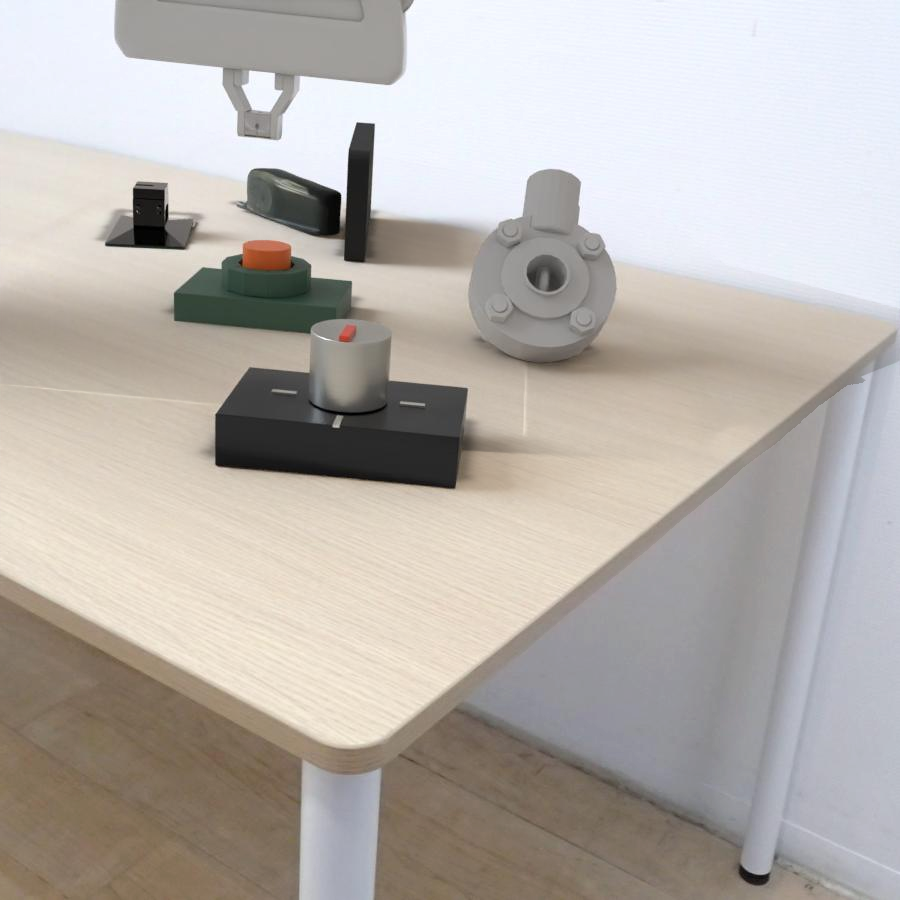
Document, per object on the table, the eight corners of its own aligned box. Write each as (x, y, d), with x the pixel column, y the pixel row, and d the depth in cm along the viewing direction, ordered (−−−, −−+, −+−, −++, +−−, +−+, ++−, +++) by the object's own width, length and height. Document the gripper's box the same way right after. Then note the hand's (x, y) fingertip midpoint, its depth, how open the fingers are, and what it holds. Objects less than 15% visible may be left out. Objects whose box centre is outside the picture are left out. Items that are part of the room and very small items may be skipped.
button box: (173, 321, 86) (173, 268, 85) (202, 293, 94) (202, 244, 92) (335, 336, 86) (337, 283, 85) (351, 307, 93) (353, 258, 92)
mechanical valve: (464, 328, 80) (492, 140, 85) (445, 415, 97) (469, 254, 102) (612, 352, 80) (631, 163, 85) (567, 434, 97) (585, 273, 102)
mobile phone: (347, 188, 115) (255, 159, 124) (324, 190, 113) (231, 161, 122) (344, 238, 117) (253, 206, 126) (321, 241, 115) (230, 208, 124)
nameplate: (364, 264, 107) (369, 152, 103) (343, 262, 107) (348, 151, 103) (370, 217, 126) (375, 122, 123) (352, 216, 126) (356, 120, 122)
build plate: (121, 219, 117) (120, 172, 115) (196, 223, 118) (196, 176, 116) (104, 246, 106) (102, 194, 104) (187, 250, 107) (187, 199, 105)
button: (237, 271, 87) (237, 248, 86) (248, 260, 90) (248, 238, 90) (285, 276, 87) (286, 252, 86) (294, 264, 90) (295, 242, 90)
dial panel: (213, 468, 63) (213, 413, 62) (249, 412, 71) (250, 362, 70) (455, 491, 62) (459, 436, 61) (464, 432, 70) (468, 383, 69)
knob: (317, 382, 68) (320, 310, 66) (393, 390, 67) (397, 318, 66) (300, 408, 64) (302, 332, 62) (380, 417, 63) (385, 340, 62)
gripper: (423, -55, 82) (407, 147, 87) (135, -84, 83) (135, 118, 88) (414, -58, 76) (397, 159, 81) (104, -90, 77) (106, 127, 82)
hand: (259, 137), depth 84 cm, fingers closed
